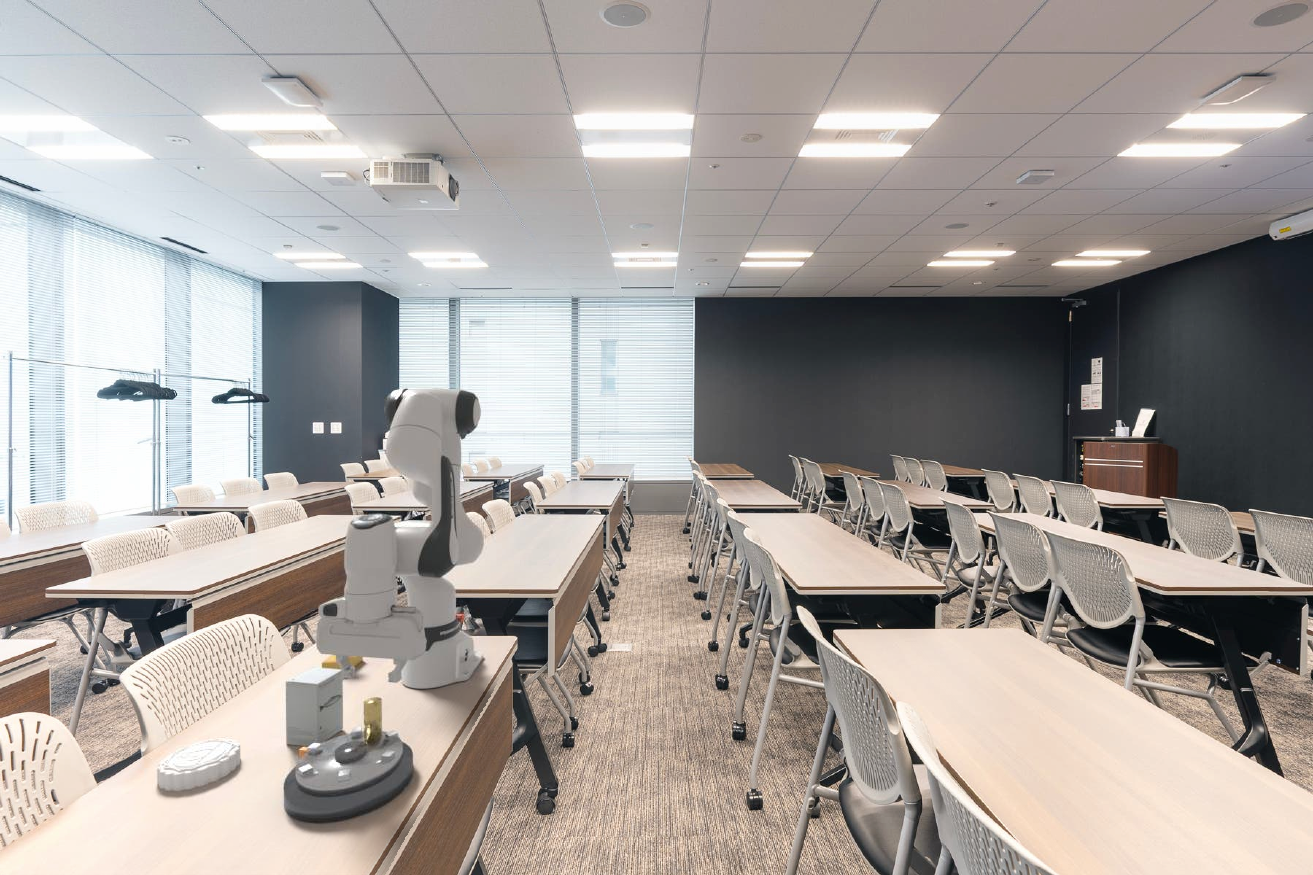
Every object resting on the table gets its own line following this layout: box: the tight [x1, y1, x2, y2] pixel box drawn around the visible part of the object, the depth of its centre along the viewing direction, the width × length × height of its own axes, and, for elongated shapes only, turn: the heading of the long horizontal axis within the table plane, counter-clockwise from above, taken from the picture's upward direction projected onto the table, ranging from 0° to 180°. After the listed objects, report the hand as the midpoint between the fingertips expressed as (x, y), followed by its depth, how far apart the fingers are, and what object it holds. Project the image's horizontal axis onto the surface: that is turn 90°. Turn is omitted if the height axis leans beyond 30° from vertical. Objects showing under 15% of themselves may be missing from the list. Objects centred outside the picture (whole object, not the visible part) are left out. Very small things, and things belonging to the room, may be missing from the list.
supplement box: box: [285, 666, 344, 747], centre depth 120 cm, size 7×7×13 cm
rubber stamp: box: [321, 655, 364, 670], centre depth 153 cm, size 10×6×12 cm, turn 1°
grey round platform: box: [283, 741, 414, 824], centre depth 104 cm, size 20×20×6 cm
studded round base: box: [295, 696, 403, 796], centre depth 104 cm, size 17×17×9 cm
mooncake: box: [156, 737, 241, 792], centre depth 108 cm, size 12×12×4 cm
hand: (371, 679), depth 109 cm, fingers open, 8 cm apart
